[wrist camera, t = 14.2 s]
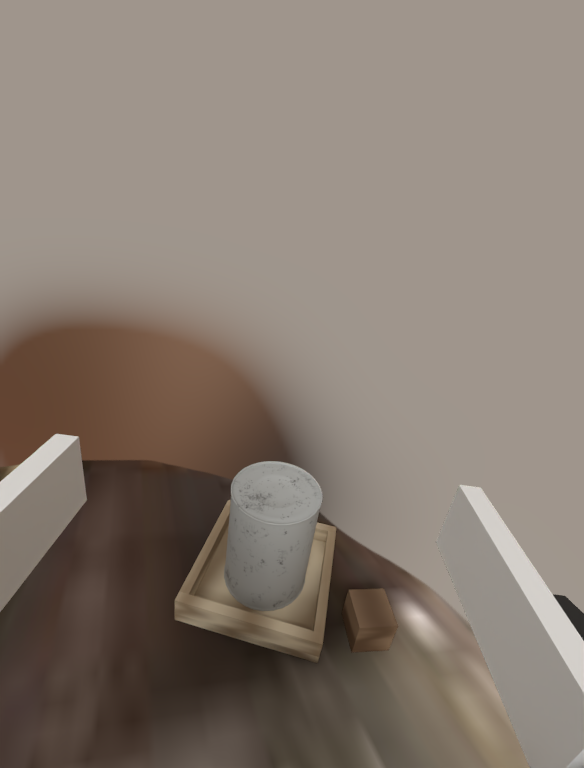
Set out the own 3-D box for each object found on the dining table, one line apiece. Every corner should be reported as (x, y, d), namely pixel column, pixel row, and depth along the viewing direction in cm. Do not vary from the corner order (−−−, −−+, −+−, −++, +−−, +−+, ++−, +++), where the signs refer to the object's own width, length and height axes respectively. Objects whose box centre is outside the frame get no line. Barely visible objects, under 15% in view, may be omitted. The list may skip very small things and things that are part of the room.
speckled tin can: (229, 536, 47) (236, 457, 42) (302, 541, 47) (318, 465, 42) (217, 608, 38) (224, 520, 33) (308, 613, 39) (328, 528, 34)
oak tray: (174, 619, 37) (174, 600, 36) (226, 516, 51) (228, 499, 50) (317, 663, 35) (322, 644, 34) (332, 543, 49) (336, 527, 48)
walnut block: (351, 652, 37) (359, 628, 35) (341, 613, 40) (348, 589, 39) (388, 650, 37) (398, 626, 36) (375, 612, 41) (383, 588, 39)
